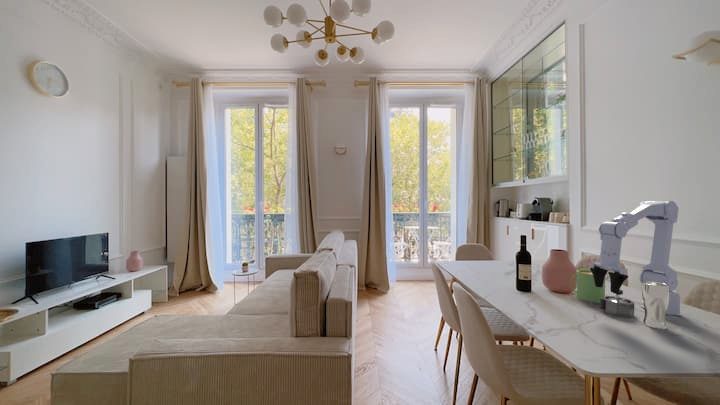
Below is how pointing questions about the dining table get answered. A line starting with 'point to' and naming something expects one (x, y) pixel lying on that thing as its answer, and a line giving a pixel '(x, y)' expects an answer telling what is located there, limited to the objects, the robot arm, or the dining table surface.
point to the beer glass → (655, 304)
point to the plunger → (618, 298)
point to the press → (617, 307)
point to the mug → (588, 287)
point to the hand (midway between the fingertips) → (606, 289)
